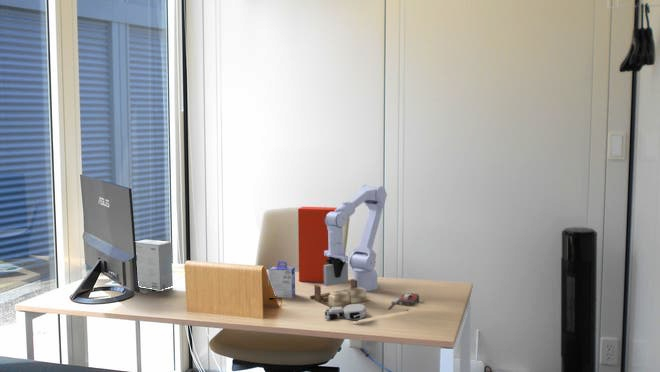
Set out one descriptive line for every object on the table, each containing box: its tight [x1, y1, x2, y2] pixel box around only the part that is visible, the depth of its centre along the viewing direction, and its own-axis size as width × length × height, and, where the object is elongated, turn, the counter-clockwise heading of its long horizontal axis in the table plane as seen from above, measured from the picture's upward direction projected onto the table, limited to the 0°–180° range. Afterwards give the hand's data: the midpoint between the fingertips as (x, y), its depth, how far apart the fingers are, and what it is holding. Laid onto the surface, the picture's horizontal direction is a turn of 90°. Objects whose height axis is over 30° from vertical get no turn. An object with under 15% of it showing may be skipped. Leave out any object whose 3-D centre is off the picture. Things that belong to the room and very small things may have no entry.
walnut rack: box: [309, 278, 372, 308], centre depth 278 cm, size 18×16×7 cm
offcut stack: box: [328, 287, 367, 307], centre depth 274 cm, size 15×4×4 cm, turn 122°
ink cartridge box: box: [268, 260, 296, 299], centre depth 284 cm, size 10×6×14 cm, turn 78°
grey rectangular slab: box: [323, 261, 349, 287], centre depth 280 cm, size 10×2×8 cm, turn 122°
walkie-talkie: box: [387, 292, 420, 311], centre depth 272 cm, size 9×4×20 cm
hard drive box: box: [135, 239, 174, 290], centre depth 301 cm, size 16×8×20 cm, turn 58°
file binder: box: [297, 206, 338, 283], centre depth 311 cm, size 8×17×32 cm, turn 76°
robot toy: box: [324, 302, 367, 322], centre depth 257 cm, size 12×4×15 cm
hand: (336, 276), depth 280 cm, fingers closed on grey rectangular slab, 2 cm apart
